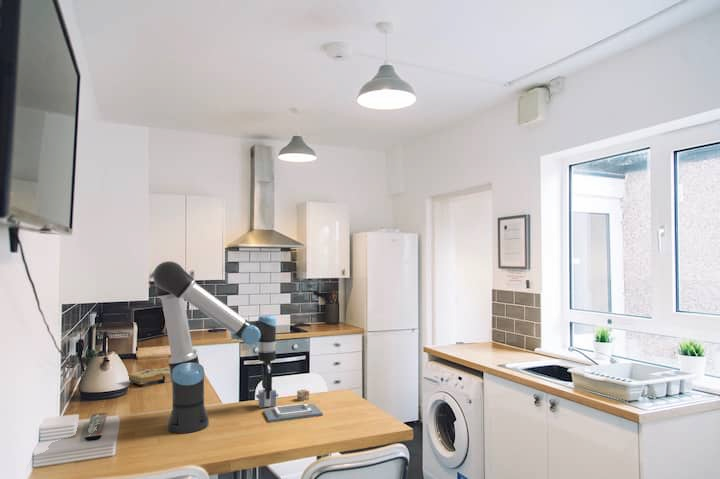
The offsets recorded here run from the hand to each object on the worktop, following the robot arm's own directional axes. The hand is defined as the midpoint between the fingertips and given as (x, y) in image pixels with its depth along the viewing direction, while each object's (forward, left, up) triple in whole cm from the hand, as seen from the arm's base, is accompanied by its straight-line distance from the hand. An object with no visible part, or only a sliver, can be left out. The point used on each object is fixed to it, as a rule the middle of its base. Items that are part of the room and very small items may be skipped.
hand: (266, 404), depth 217 cm
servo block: (0, 0, 0) cm, 0 cm away
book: (-48, +70, -1) cm, 84 cm away
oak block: (+17, +4, -1) cm, 18 cm away
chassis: (+8, -15, -1) cm, 17 cm away
